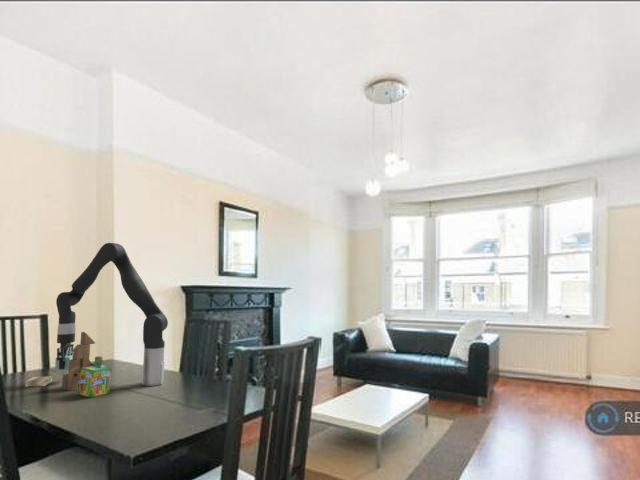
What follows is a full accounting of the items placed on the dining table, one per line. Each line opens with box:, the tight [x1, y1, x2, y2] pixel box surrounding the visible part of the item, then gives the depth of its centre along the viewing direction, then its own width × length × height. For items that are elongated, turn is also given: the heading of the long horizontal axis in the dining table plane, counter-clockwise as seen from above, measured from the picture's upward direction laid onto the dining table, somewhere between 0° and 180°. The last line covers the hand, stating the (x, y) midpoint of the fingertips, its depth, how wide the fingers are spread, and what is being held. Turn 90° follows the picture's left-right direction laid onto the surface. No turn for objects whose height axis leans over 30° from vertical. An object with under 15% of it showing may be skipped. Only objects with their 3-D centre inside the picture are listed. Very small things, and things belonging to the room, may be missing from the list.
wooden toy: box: [61, 331, 103, 391], centre depth 192 cm, size 16×7×25 cm, turn 154°
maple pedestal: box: [25, 375, 53, 388], centre depth 194 cm, size 8×8×3 cm
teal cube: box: [54, 355, 73, 372], centre depth 200 cm, size 6×6×6 cm
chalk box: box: [78, 359, 113, 399], centre depth 179 cm, size 9×9×15 cm
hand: (64, 367), depth 199 cm, fingers closed on teal cube, 6 cm apart
